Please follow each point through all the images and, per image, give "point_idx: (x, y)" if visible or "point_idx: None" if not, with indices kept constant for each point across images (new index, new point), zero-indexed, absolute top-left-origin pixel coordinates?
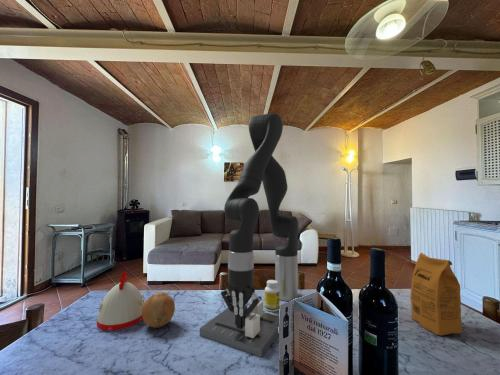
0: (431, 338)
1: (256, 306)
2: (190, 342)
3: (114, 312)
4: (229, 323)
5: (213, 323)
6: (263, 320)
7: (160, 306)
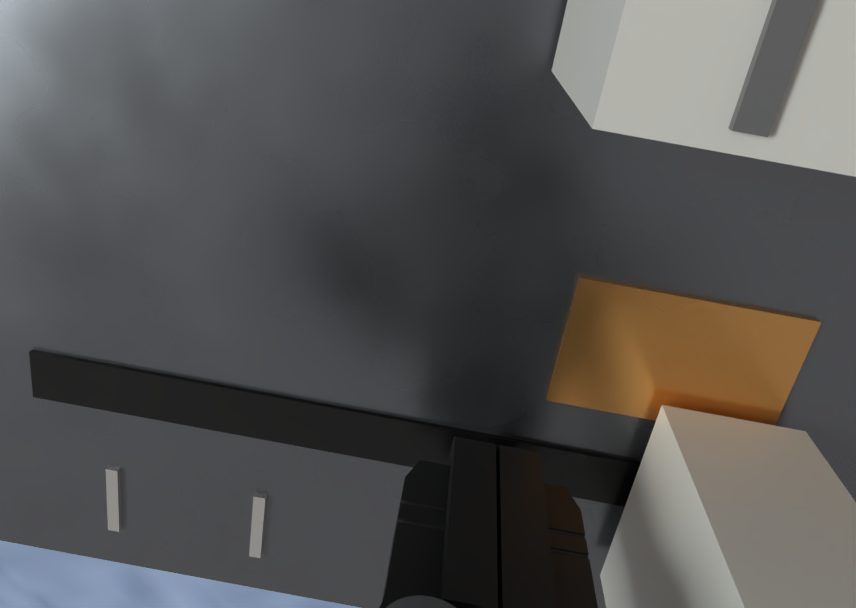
0: None
1: (818, 165)
2: (11, 583)
3: None
4: (228, 317)
5: (4, 382)
6: None
7: None
